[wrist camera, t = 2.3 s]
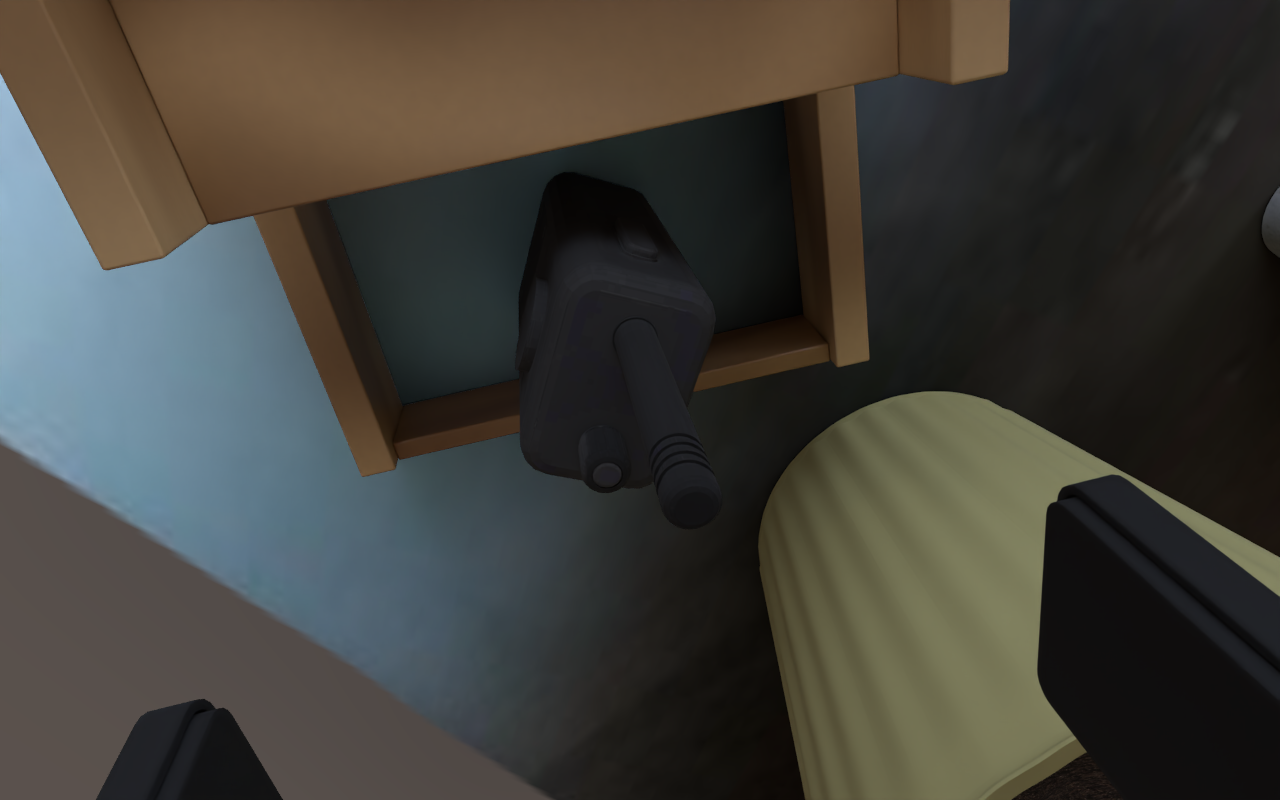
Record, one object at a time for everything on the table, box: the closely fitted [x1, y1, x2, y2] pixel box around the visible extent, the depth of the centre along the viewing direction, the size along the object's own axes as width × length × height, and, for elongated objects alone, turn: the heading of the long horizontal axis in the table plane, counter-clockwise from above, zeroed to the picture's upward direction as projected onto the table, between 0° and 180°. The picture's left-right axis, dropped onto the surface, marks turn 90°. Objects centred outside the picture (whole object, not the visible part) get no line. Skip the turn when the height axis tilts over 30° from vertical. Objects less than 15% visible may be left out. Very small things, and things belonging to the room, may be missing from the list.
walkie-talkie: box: [515, 172, 722, 529], centre depth 17 cm, size 5×3×15 cm
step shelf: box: [0, 0, 1010, 477], centre depth 18 cm, size 16×15×10 cm
